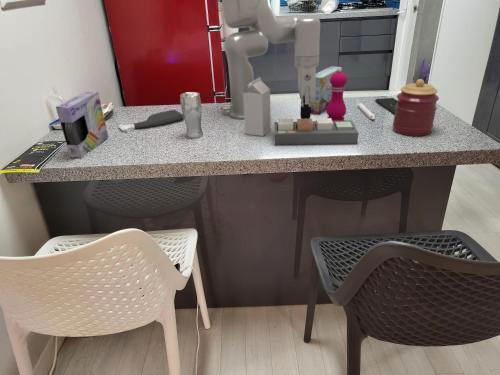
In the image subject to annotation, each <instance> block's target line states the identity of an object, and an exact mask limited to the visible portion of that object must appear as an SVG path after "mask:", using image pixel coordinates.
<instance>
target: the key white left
mask: <svg viewBox="0 0 500 375" xmlns="http://www.w3.org/2000/svg"><path fill="white" fill-rule="evenodd" d="M277 122H278V131H293V122H294V118H284V119H283V118H280V119H279V118H277Z"/></svg>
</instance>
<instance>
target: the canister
mask: <svg viewBox="0 0 500 375" xmlns="http://www.w3.org/2000/svg"><path fill="white" fill-rule="evenodd" d="M437 93H438V88H435V87H434V86H433V85H432V84H428V83H425V81H424V79H422V78H419V79H417V80H416V81H415V82H413V83H407V84H405V86H402V87H401V88H400V92H399V93H397V95H396V98H397V101H398V103H397V104H396V110H395V115H394V116H393V117H394V118H393V121H392V130H393V131H394V132H396V133H397V134H401V135H405V136H409V137H411V136H412V137H423V136H427V135H430V134H431V132H432V130H434V129H433V128H434V120H435V117H436V116H435V115H436V111H437V109H438V107H437V101H439V100H440V98H439V96H438V95H437Z"/></svg>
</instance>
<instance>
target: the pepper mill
mask: <svg viewBox="0 0 500 375" xmlns="http://www.w3.org/2000/svg"><path fill="white" fill-rule="evenodd" d="M342 70H343V68H342V69H341V68H338V69H337V72H336V73H334V74H332V75H331V77H330V83H331V84H332V86H331V91H332V98H331V101H330V103H329V104H328V107H327V110H325V112H326V114H327V115H328V116H327V118H331V119H332V121H345V115H346V114H347V106H346V104H345V102H344V91H345V90H346V89H345V88H346V86H345V85H346V84H347V82H348V77H347V75H346V74H345V73H344V72H343V71H342ZM341 71H342V72H341Z"/></svg>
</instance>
